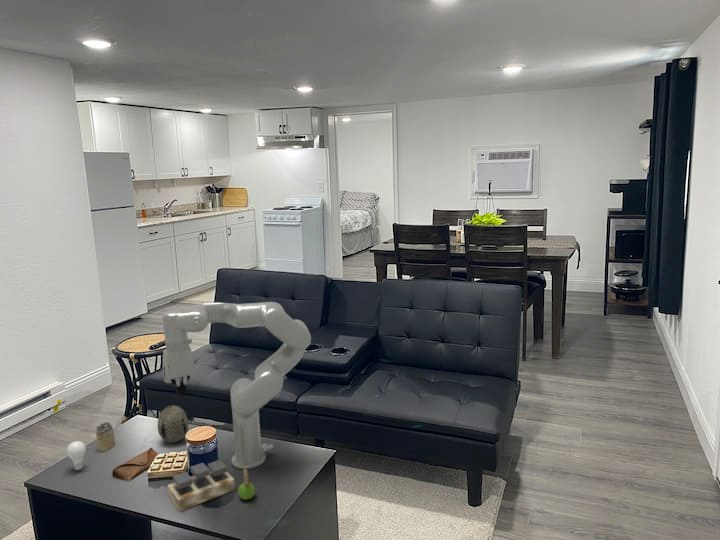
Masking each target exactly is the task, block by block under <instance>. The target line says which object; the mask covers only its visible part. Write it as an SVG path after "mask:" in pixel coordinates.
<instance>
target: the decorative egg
mask: <svg viewBox="0 0 720 540" xmlns="http://www.w3.org/2000/svg"><path fill="white" fill-rule="evenodd" d="M188 431H189V419H188V416H187V413H186V412H185V411H184V409H183V408H181V407H180V406H177V405H173V404H172V405H168V406H166V407H165V408H164V409H163V410H162V411H160V414H159V416H158V420H157V432H158V435H159V436H160V438H161V439H162V440H164V441H165V442H167V443H177V442H179V441H181V440H182V439H183V438H185V436H186V435H187V434H188ZM185 434H186V435H185Z"/></svg>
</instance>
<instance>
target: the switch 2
mask: <svg viewBox="0 0 720 540" xmlns="http://www.w3.org/2000/svg"><path fill="white" fill-rule="evenodd" d="M207 468H208V469H209V470H210V471H211V473H212V474H213V475H214V476H218V475H220V474H222V473H225V472H228V467H227V466H226V464H225V463H224V462H223V461H222V460H221V459H218V460H216V461H212V462H210V463H207Z"/></svg>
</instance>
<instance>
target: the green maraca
mask: <svg viewBox="0 0 720 540" xmlns="http://www.w3.org/2000/svg"><path fill="white" fill-rule="evenodd" d="M242 474H243V475H242V477H243V479H242V480H243V481H242V483H241V484H240V485H239V487H238V489H237V493H238V495H239V497H240V498H241V499H242V500H250V499H252V498H253V497H254V495H255V491H256V489H255V486H254V484H253V483H252V482H249V472H248V469H246V468H244V469H242Z"/></svg>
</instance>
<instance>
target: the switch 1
mask: <svg viewBox="0 0 720 540" xmlns="http://www.w3.org/2000/svg"><path fill="white" fill-rule="evenodd" d="M172 480H173V481H172V482H173V483H175V484H176V485H177V487H178V488H179V489H181V488H185V487H187V486H190V485H192V484H193V483H192V479H191V476H190V475H189V474H188V472H187V471H184V472H180V473H178V474H175V475H173V476H172Z"/></svg>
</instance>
